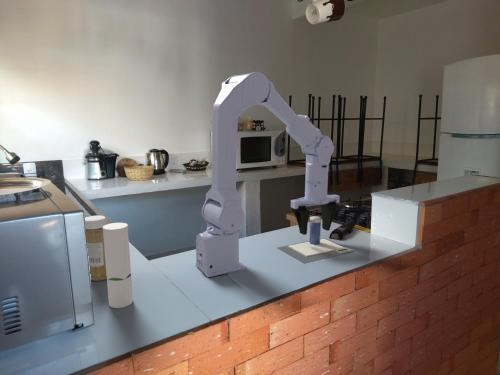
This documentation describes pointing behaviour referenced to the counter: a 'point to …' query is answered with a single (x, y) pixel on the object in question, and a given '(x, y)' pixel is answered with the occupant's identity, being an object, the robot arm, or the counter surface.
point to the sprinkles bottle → (96, 246)
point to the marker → (315, 230)
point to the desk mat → (310, 258)
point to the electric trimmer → (342, 230)
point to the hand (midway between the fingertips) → (314, 231)
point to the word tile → (343, 250)
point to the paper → (315, 247)
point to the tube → (118, 264)
